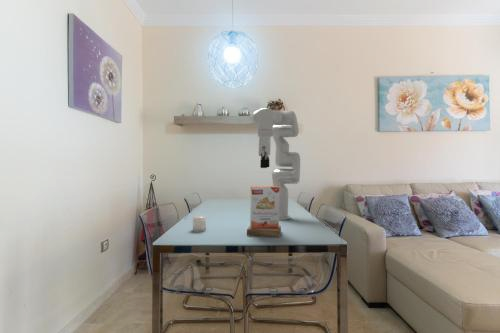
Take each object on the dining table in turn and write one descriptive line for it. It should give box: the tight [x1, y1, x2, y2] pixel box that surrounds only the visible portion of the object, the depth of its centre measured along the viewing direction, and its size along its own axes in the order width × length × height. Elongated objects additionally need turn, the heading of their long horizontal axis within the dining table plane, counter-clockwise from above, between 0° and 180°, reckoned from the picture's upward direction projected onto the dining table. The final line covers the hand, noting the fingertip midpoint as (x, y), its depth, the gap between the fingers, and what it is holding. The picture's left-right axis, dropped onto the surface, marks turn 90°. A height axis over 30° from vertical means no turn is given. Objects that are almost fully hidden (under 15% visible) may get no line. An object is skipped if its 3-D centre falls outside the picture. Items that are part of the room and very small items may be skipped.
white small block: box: [192, 215, 207, 232], centre depth 160 cm, size 7×7×7 cm
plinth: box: [246, 225, 282, 238], centre depth 153 cm, size 11×16×3 cm
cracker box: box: [249, 185, 280, 228], centre depth 153 cm, size 14×6×21 cm, turn 96°
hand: (265, 167), depth 152 cm, fingers open, 9 cm apart
